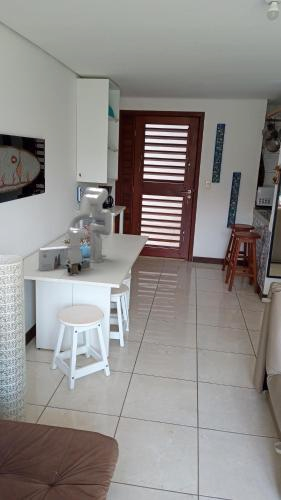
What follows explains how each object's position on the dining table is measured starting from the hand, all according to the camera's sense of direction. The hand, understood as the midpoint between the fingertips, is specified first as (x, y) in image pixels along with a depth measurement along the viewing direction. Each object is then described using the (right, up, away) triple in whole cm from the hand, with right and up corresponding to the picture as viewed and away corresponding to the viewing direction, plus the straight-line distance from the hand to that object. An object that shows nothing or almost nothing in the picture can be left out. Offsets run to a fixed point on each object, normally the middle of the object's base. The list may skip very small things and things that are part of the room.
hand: (74, 271), depth 269 cm
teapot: (-1, +10, +47) cm, 48 cm away
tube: (+3, +2, +15) cm, 15 cm away
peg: (0, -2, 0) cm, 2 cm away
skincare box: (-17, +1, +9) cm, 19 cm away
